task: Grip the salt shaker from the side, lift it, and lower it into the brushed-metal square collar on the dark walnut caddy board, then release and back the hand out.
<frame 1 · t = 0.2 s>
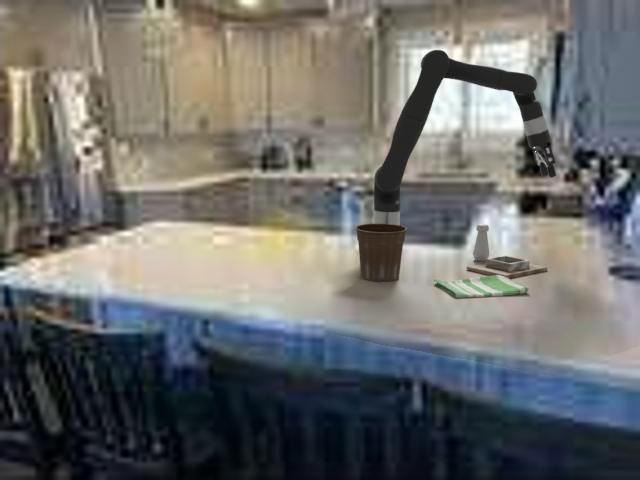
hand: (549, 176, 247), 31 cm above the worktop, tool tilted 20°, fingers open, 8 cm apart
salt shaker: (480, 260, 253), on the worktop
caddy board: (506, 270, 236), on the worktop
plant pot: (379, 278, 223), on the worktop
dish towel: (480, 291, 210), on the worktop
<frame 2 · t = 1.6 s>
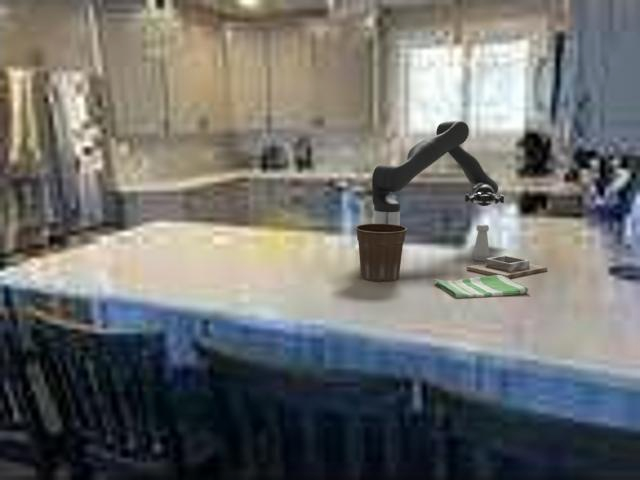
hand: (484, 200, 259), 20 cm above the worktop, tool horizontal, fingers open, 8 cm apart
nothing on the worktop moved.
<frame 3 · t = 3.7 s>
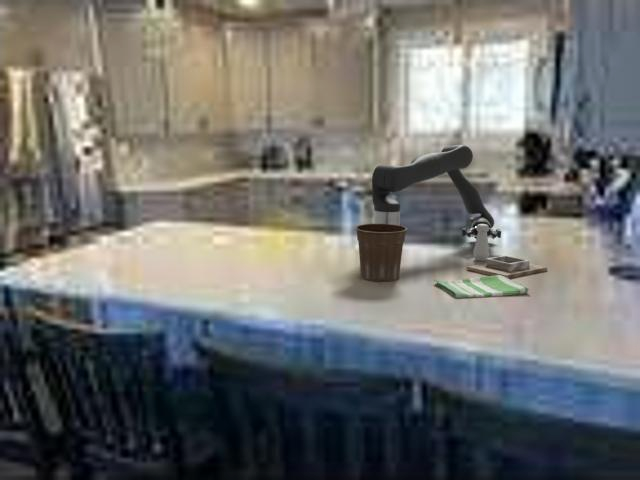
hand: (481, 235, 259), 8 cm above the worktop, tool horizontal, fingers open, 8 cm apart
nothing on the worktop moved.
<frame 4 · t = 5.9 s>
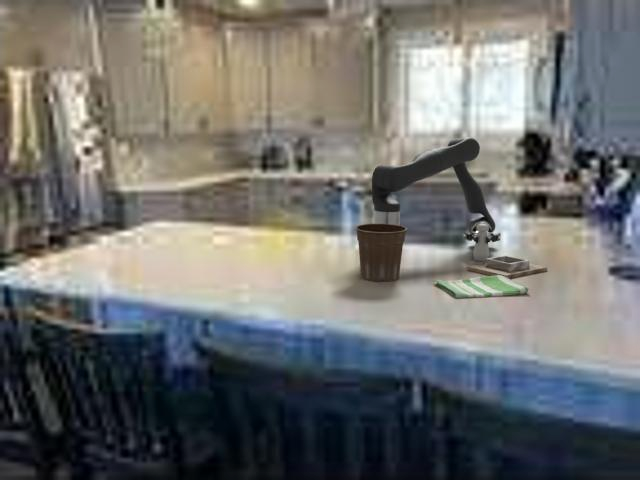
hand: (482, 240, 248), 8 cm above the worktop, tool horizontal, fingers closed on salt shaker, 3 cm apart
salt shaker: (480, 260, 253), on the worktop, touching gripper
everything else where it was.
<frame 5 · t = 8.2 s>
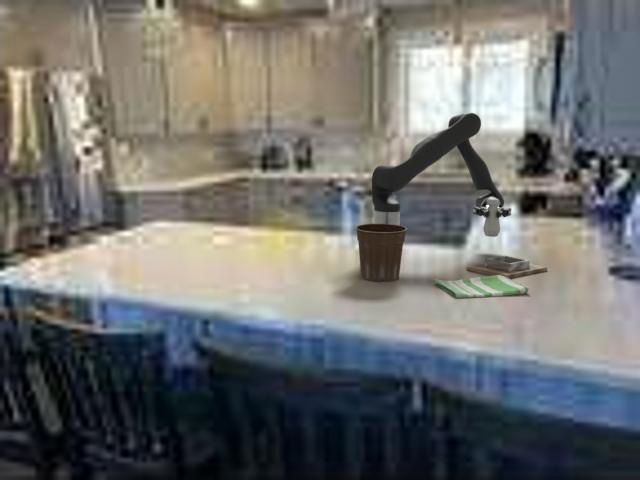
hand: (493, 214, 241), 18 cm above the worktop, tool horizontal, fingers closed on salt shaker, 3 cm apart
salt shaker: (491, 236, 246), point 10 cm above the worktop, touching gripper
everything else where it was.
when the fingers open (10 cm above the worktop, at t = 10.3 s): salt shaker stays where it is, resting on caddy board.
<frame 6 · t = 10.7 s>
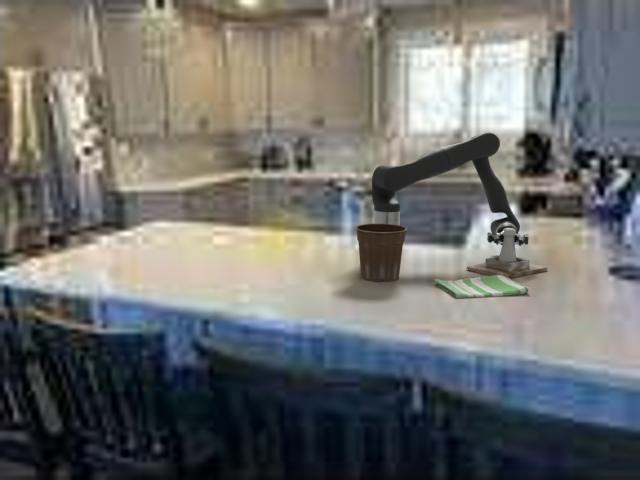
hand: (509, 242, 233), 10 cm above the worktop, tool horizontal, fingers open, 6 cm apart
salt shaker: (506, 267, 236), point 1 cm above the worktop, touching caddy board
everything else where it was.
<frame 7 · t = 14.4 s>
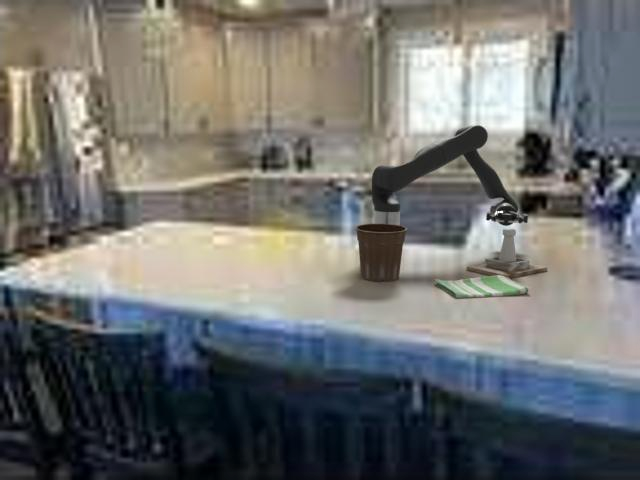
hand: (507, 219, 244), 16 cm above the worktop, tool horizontal, fingers open, 8 cm apart
nothing on the worktop moved.
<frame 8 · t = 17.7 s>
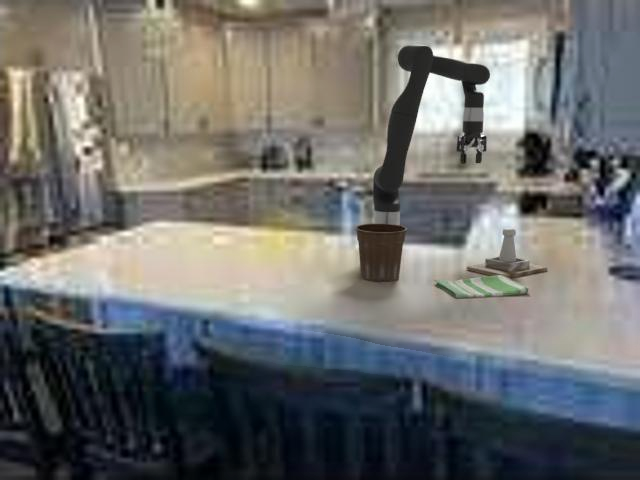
hand: (470, 163, 267), 33 cm above the worktop, tool pointing down, fingers open, 8 cm apart
nothing on the worktop moved.
at the end: salt shaker 0.1 cm from the caddy board (horizontally); salt shaker point 1.0 cm above the worktop; salt shaker tilted 0° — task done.
